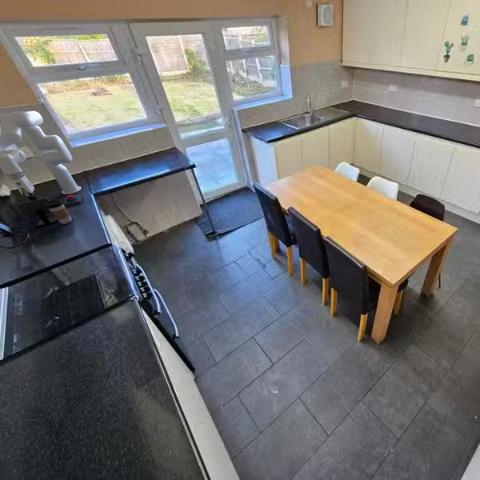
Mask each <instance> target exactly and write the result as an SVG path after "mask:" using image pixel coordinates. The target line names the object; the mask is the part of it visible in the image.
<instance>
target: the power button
mask: <svg viewBox="0 0 480 480" xmlns="http://www.w3.org/2000/svg"><path fill="white" fill-rule="evenodd" d="M66 198H68V199H72V198H74V195H73V194H68V195H67V196H66Z"/></svg>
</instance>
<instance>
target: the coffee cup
mask: <svg viewBox="0 0 480 480" xmlns="http://www.w3.org/2000/svg"><path fill="white" fill-rule="evenodd" d="M46 207H47V208H48V209H49V210H50V212H51V213H50V214H52V215H53V217H56V218H57V219H58V222H59V223H60V224H61V225H66V224H69V223H71V222H72V221H73V219H72V217H71V216H70V214H69V211H68V209H67V207H66V206H65V205H64V202H63V201H62V200H61V199H52V200H49V202H47V203H46Z"/></svg>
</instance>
